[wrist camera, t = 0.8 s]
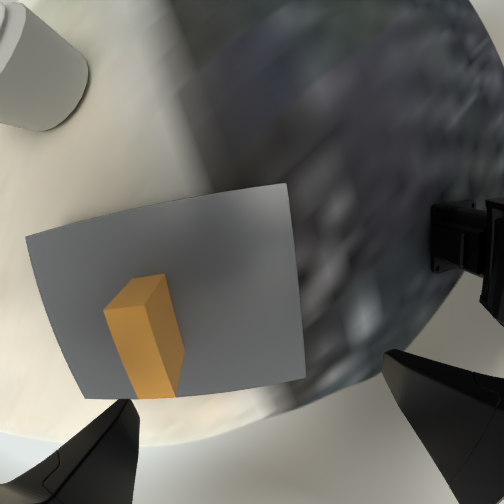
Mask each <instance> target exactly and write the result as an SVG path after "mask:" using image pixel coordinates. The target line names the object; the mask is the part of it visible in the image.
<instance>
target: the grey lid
mask: <svg viewBox="0 0 504 504" xmlns="http://www.w3.org/2000/svg"><path fill="white" fill-rule="evenodd" d="M25 238H26V243H27V247H28V252H29V256H30V260H31V264H32V268H33V272H34V275H35V279H36V282H37V285H38V289H39V292H40V295H41V298H42V301H43V304H44V307H45V310H46V313H47V316H48V318H49V321H50V324H51V326H52V329H53V332H54V334H55V337H56V339H57V341H58V344H59V346H60V348H61V351H62V353H63V355H64V358H65V360H66V362H67V364H68V366H69V368H70V370H71V372H72V374H73V376H74V378H75V380H76V382H77V384H78V386H79V388H80V390H81V392H82V394H83V396H84V397H85V399H127V398H128V399H155V398H173V397H186V396H197V395H206V394H215V393H223V392H230V391H237V390H244V389H250V388H256V387H262V386H268V385H273V384H278V383H283V382H288V381H293V380H297V379H302V378H306V370H305V355H304V342H303V329H302V317H301V306H300V295H299V285H298V275H297V266H296V256H295V247H294V239H293V230H292V222H291V214H290V207H289V199H288V191H287V184H286V183H281V184H274V185H266V186H259V187H252V188H245V189H239V190H232V191H226V192H220V193H214V194H208V195H202V196H196V197H191V198H185V199H180V200H175V201H170V202H164V203H159V204H155V205H150V206H145V207H140V208H135V209H131V210H126V211H122V212H117V213H113V214H109V215H105V216H100V217H96V218H92V219H88V220H84V221H80V222H76V223H72V224H69V225H65V226H61V227H57V228H54V229H50V230H47V231H43V232H40V233H36V234H33V235H30V236H27V237H25Z"/></svg>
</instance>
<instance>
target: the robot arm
mask: <svg viewBox="0 0 504 504" xmlns="http://www.w3.org/2000/svg"><path fill="white" fill-rule="evenodd" d="M485 201H486V207H487V211H483V210H477V209H476V204H475V201H472V200H468V201H459V202H450V203H441V204H434V205H433V206H432V209H431V213H432V267H431V269H432V272H433V273H436V274H438V273H441V272H445V271H448V270H451V269H454V268H460V269H462V270H464V271H467V272H469V273H471V274H474V275H476V276H478V277H481V278H483V286H482V293H481V295H480V301H479V302H480V303H481V304H482V305H483V306H484V307H485V308H486V309H487V310H488V311H489V312H490V314H491V315H492V316H493V317H494V318H495V319H496V320H497V321H498V322H499V323H500V324H501V325H502V326H503V327H504V198H495V199H486V200H485ZM436 208H437V211H436ZM436 267H437V269H436ZM382 374H383V376H384V378H385V380H386V382H387V384H388V386H389V388H390V390H391V392H392V394H393V396H394V398H395V400H396V402H397V404H398V406H399V407H400V409H401V411H402V412H403V414H404V415H405V417H406V418H407V420H408V421H409V423H410V424H411V426H412V428H413V429H414V431H415V432H416V434H417V435H418V437H419V439H420V440H421V442H422V443H423V445H424V446H425V448H426V449H427V451H428V452H429V454H430V456H431V457H432V459H433V461H434V462H435V464H436V466H437V467H438V469H439V470H440V472H441V473H442V475H443V477H444V478H445V480H446V482H447V484H448V485H450V486H449V487H450V489H451V490H452V492H453V494H454V496H455V497H456V499H457V501H458V502H459V504H499V503H500V502H501V501H502V500H503V499H504V378H499V377H493V376H489V375H484V374H480V373H476V372H471V371H469V370H465V369H462V368H458V367H454V366H451V365H447V364H444V363H440V362H437V361H433V360H430V359H427V358H423V357H420V356H417V355H413V354H410V353H407V352H404V351H401V350H397V349H392V350H389V351H386V352H385V353H384V356H383V365H382ZM139 428H140V417H139V414H138V412H137V410H136V408H135V406H134V404H133V403H132V401H131V400H130V399H128V398H127V399H118V400H117V401H116V402H115V403H113V404H112V405H111V406H110V407H109V408H108V409H106V410H105V411H104V412H103V413H102V414H100V415H99V416H98V417H97V418H96V419H94V420H93V421H92V422H91V423H90V424H88V425H87V426H86V427H85V428H83V429H82V430H81V431H80V432H79V433H77V434H76V435H75V436H74V437H72V438H71V439H70V440H69V441H68V442H66V443H65V444H64V445H63V446H61V447H60V448H59V449H58V450H56V451H55V452H54V453H53V454H52V455H50V456H49V457H47V458H46V459H45V460H44V461H42V462H41V463H39V464H38V465H36V466H35V467H33V468H32V469H30V470H29V471H27V472H25V473H24V474H22V475H20V476H19V477H17V478H15V479H14V480H12V481H10V482H8V483H4V484H0V504H132V500H133V490H134V483H135V476H136V468H137V462H138V453H139Z"/></svg>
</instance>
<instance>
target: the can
mask: <svg viewBox="0 0 504 504" xmlns="http://www.w3.org/2000/svg"><path fill="white" fill-rule="evenodd" d="M87 78H88V67H87V63H86V59H85V58H84V57H83V56H82V55H81V54H80V53H79V52H78V51H77V50H76V49H75V48H74V47H73V46H72V45H70V44H69V43H68V42H67V41H66V40H65V39H63V38H62V37H61V36H60V35H59V34H58V33H57V32H55V31H54V30H53V29H52V28H51V27H50V26H48V25H47V24H46V23H45V22H44V21H42V20H41V19H40V18H39V17H38V16H37V15H35V14H34V13H33V12H32V11H31V10H29V9H28V8H27V7H26V6H24V5H23V4H22V3H18V2H12V3H9V4H6V5H4V4H3V3H2V2H0V123H2V124H6V125H11V126H15V127H20V128H24V129H28V130H33V131H45V130H48V129H51V128H54V127H55V126H56V125H58V124H59V123H61V122H62V121H64V120H65V119H66V118H67V116H68V115H69V114H70V113H71V112H72V111H73V110H74V109H75V107H76V105H77V104H78V102H79V100H80V99H81V97H82V95H83V92H84V90H85V87H86V84H87Z"/></svg>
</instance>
